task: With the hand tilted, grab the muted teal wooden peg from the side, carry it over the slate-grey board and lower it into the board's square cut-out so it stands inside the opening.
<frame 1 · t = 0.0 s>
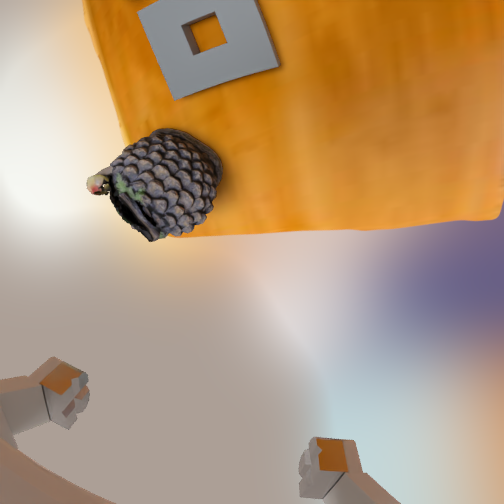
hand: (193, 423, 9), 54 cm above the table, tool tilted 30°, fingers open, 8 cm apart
decorative house: (186, 157, 63), on the table
cutout board: (210, 33, 44), on the table
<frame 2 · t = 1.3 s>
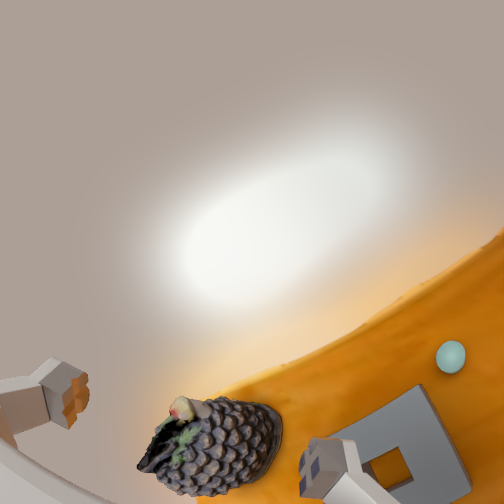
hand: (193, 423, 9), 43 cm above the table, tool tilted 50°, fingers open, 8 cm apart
peg: (453, 360, 36), on the table
decorative house: (255, 443, 52), on the table
cutout board: (392, 467, 34), on the table
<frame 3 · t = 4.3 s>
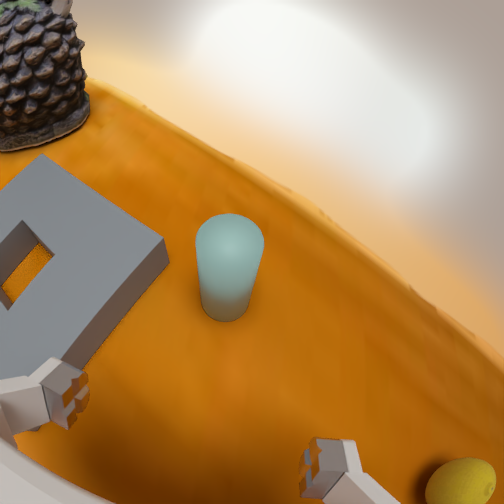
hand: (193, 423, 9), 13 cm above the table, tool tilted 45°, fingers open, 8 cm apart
lemon: (431, 483, 18), on the table
peg: (224, 299, 26), on the table
decorative house: (40, 128, 36), on the table
cutout board: (33, 281, 24), on the table
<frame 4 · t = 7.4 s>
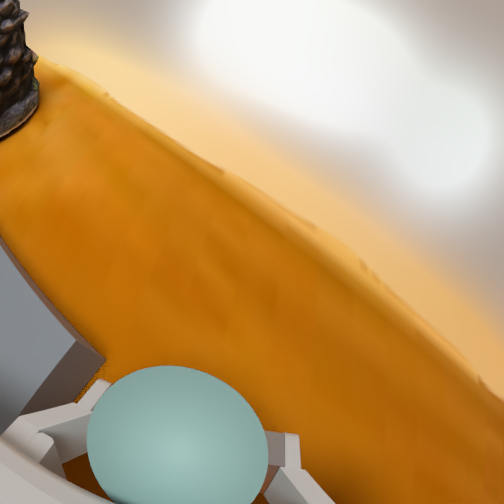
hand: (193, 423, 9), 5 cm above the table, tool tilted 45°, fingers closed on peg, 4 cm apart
peg: (197, 432, 13), on the table, touching gripper
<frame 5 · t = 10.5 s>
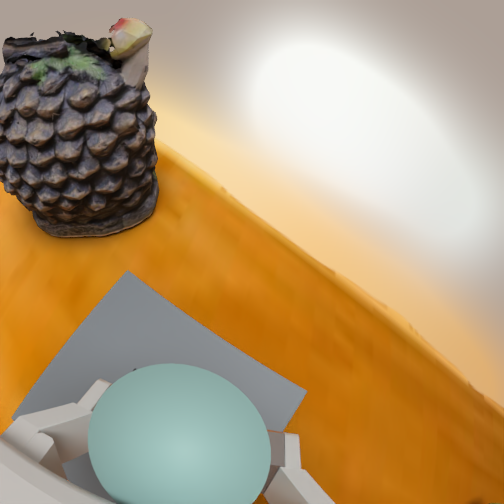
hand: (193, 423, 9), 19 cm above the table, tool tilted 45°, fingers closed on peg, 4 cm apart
peg: (198, 431, 13), point 14 cm above the table, touching gripper
decorative house: (95, 205, 37), on the table
cutout board: (152, 419, 25), on the table
when the fingers open (7 cm above the table, at t = 13.6 s): peg drops 2 cm, resting in cutout board.
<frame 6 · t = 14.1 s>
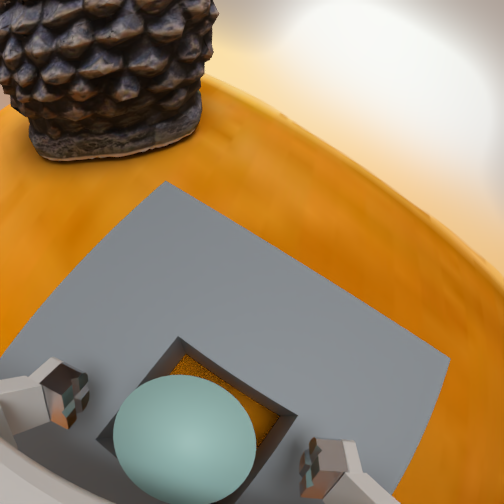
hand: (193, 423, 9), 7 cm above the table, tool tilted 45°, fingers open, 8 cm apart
peg: (199, 429, 15), resting in cutout board
decorative house: (113, 127, 27), on the table
cutout board: (199, 430, 15), on the table
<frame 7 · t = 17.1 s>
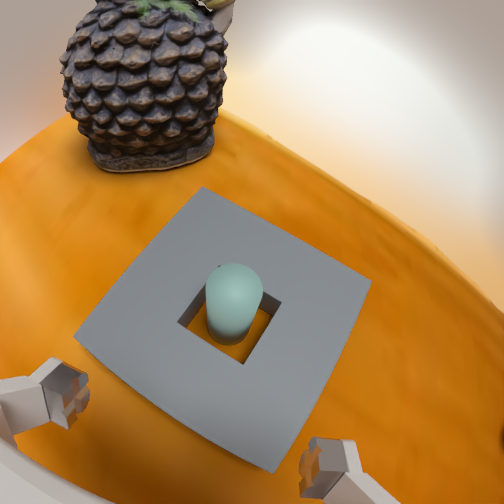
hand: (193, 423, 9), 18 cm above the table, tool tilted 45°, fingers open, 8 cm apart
peg: (228, 325, 29), resting in cutout board
decorative house: (151, 147, 40), on the table
cutout board: (228, 325, 29), on the table
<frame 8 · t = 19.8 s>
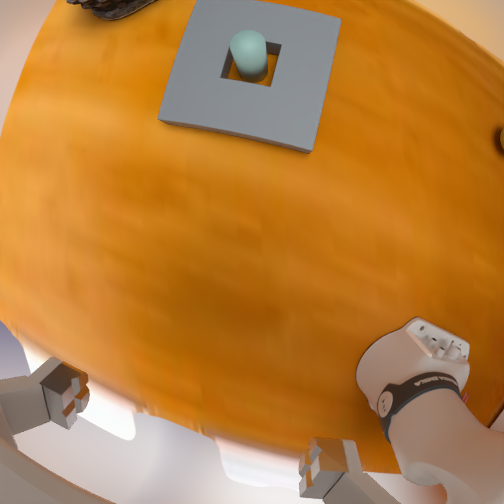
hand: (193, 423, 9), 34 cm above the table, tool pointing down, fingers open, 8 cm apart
lemon: (501, 141, 35), on the table
peg: (253, 70, 37), resting in cutout board
cutout board: (253, 70, 37), on the table
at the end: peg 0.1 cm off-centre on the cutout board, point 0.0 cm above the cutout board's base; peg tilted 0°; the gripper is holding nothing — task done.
